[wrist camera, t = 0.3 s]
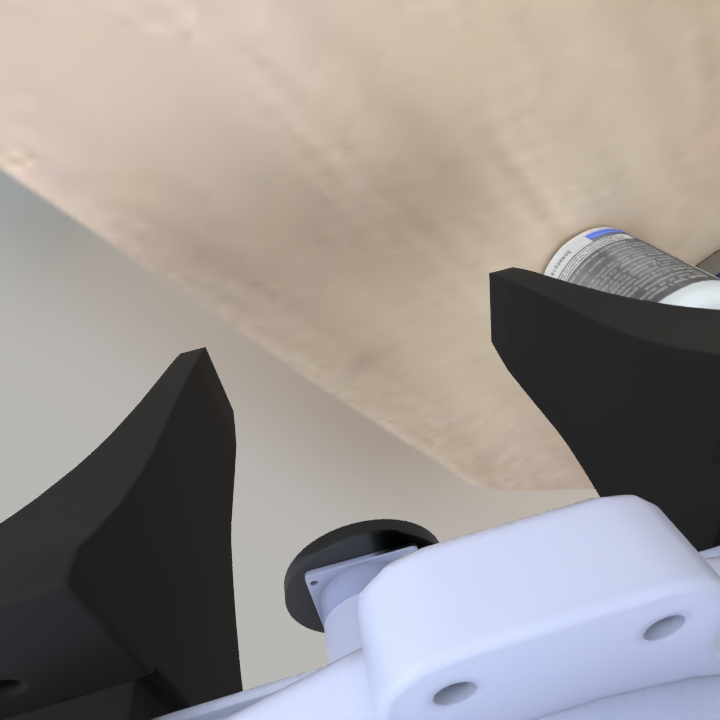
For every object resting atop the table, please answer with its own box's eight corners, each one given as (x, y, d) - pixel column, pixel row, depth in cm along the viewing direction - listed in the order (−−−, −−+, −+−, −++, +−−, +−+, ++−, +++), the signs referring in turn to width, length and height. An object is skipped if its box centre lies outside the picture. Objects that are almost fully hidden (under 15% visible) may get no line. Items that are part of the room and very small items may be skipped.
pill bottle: (517, 310, 22) (641, 432, 15) (574, 210, 20) (747, 300, 13) (597, 332, 24) (741, 452, 17) (657, 242, 22) (850, 337, 15)
